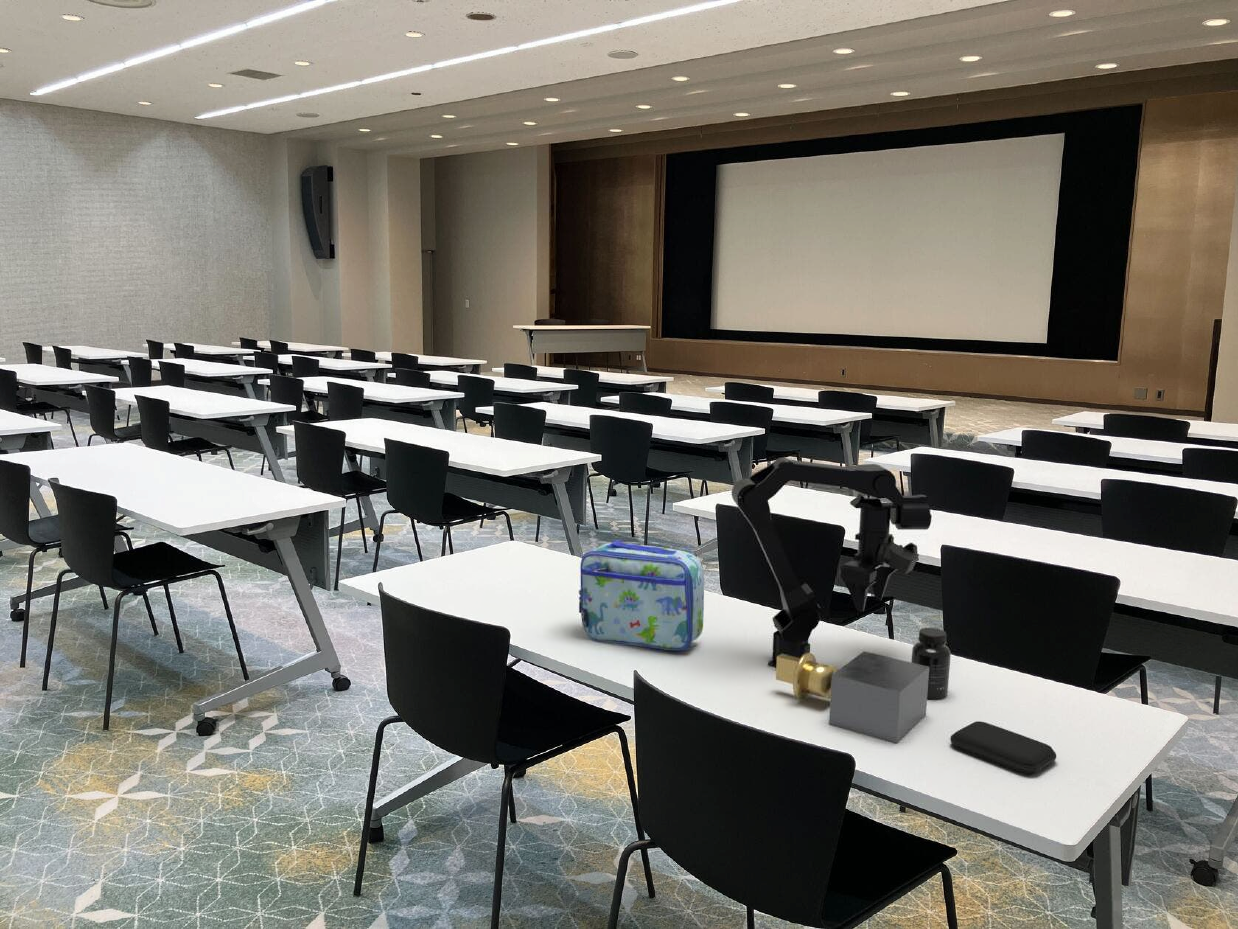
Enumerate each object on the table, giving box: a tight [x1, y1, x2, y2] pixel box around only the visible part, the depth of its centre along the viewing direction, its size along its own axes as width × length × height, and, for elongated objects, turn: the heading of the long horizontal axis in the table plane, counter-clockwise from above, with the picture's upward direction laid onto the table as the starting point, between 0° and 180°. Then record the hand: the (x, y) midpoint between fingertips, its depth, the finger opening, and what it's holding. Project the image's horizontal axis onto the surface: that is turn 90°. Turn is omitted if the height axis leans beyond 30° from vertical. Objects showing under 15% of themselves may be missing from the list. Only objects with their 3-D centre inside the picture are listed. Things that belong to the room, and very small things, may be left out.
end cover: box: [775, 652, 839, 700], centre depth 179 cm, size 11×8×8 cm
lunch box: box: [578, 539, 705, 652], centre depth 206 cm, size 26×11×21 cm, turn 65°
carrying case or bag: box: [949, 720, 1057, 776], centre depth 159 cm, size 11×3×15 cm
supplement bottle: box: [910, 627, 952, 701], centre depth 182 cm, size 7×7×12 cm
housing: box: [828, 650, 929, 744], centre depth 170 cm, size 12×14×9 cm
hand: (869, 606), depth 195 cm, fingers open, 9 cm apart
